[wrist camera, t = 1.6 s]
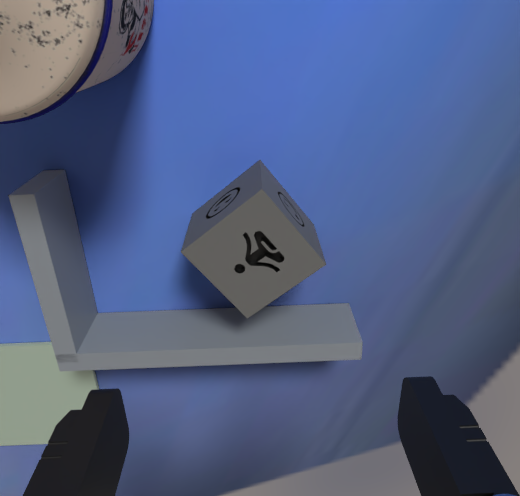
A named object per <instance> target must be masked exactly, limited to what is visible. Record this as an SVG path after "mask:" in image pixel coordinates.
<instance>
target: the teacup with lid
mask: <svg viewBox="0 0 520 496" xmlns="http://www.w3.org/2000/svg"><path fill="white" fill-rule="evenodd" d="M153 2H154V0H0V124H8V123H15V122H21V121H25V120H29V119H33V118H35V117H38V116H41V115H43V114H45V113H47V112H49V111H51V110H53V109H55V108H57V107H58V106H60V105H61V104H63V103H64V102H66V101H67V100H68V99H69V98H70V97H72V96H73V95H74V94H75V93H77V92H79V91H82V90H84V89H87V88H89V87H91V86H94V85H96V84H99V83H101V82H104V81H106V80H108V79H110V78H112V77H114V76H115V75H117V74H118V73H120V72H121V71H122V70H123V69H125V68H126V67H127V66H128V65H129V64H130V63H131V62H132V61H133V59H134V58H135V57H136V55H137V54H138V52H139V51H140V49H141V47H142V46H143V44H144V42H145V39H146V37H147V34H148V31H149V28H150V24H151V20H152V14H153Z"/></svg>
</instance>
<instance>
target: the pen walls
mask: <svg viewBox="0 0 520 496" xmlns="http://www.w3.org/2000/svg"><path fill="white" fill-rule="evenodd" d="M8 196H9V199H10V203H11V206H12V209H13V213H14V216H15V220H16V223H17V227H18V230H19V233H20V237H21V240H22V244H23V247H24V250H25V254H26V257H27V261H28V264H29V268H30V271H31V274H32V278H33V281H34V285H35V288H36V292H37V295H38V298H39V302H40V305H41V309H42V312H43V315H44V319H45V322H46V326H47V329H48V333H49V336H50V339H51V343H52V346H53V350H54V353H55V357H56V360H57V363H58V367H59V370H60V371H84V370H109V369H134V368H159V367H184V366H210V365H235V364H260V363H285V362H310V361H335V360H360V359H361V356H362V343H363V342H362V340H361V337H360V334H359V331H358V328H357V325H356V322H355V320H354V317H353V314H352V311H351V308H350V305H349V303H342V304H316V305H291V306H266V307H264V308H262V309H261V310H259V311H258V312H256V313H255V314H253V315H252V316H250V317H249V318H248V319H247V318H246V317H245V316H244V315H243V314H242V313H241V312H240V311H239V310H238V309H237V308H215V309H190V310H164V311H139V312H114V313H98V312H97V307H96V303H95V299H94V294H93V290H92V286H91V281H90V277H89V272H88V268H87V264H86V259H85V255H84V251H83V246H82V242H81V237H80V233H79V229H78V224H77V220H76V216H75V211H74V207H73V202H72V198H71V194H70V189H69V185H68V181H67V176H66V172H65V170H44V171H42V172H40V173H39V174H38V175H36V176H35V177H33V178H32V179H31V180H29V181H28V182H26V183H25V184H24V185H22V186H21V187H19V188H18V189H17V190H15V191H14V192H12V193H11V194H10V195H8Z"/></svg>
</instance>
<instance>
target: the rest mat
mask: <svg viewBox="0 0 520 496" xmlns="http://www.w3.org/2000/svg"><path fill="white" fill-rule="evenodd" d="M96 389H99V386H98V382H97V378H96V374H95V370H84V371H60V370H59V367H58V363H57V360H56V357H55V353H54V350H53V346H52V343H51V342H35V343H9V344H0V446H7V445H32V444H48V441H49V439H50V437H51V435H52V433H53V431H54V429H55V426H56V425H57V424H58V423H59V422H60V421H61V420H62V418H63V417H64V416H65V415H66V414H67V413H68V412H69V411H70V410H81V409H82V407H83V405H84V403H85V400H86V398H87V396H88V394H89V392H90V391H91V390H96Z"/></svg>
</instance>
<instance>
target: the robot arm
mask: <svg viewBox="0 0 520 496" xmlns="http://www.w3.org/2000/svg"><path fill="white" fill-rule="evenodd" d="M398 430H399V435H400V439H401V442H402V445H403V447H404V450H405V453H406V455H407V458H408V461H409V464H410V466H411V469H412V471H413V474H414V477H415V480H416V483H417V485H418V488H419V490H420V493H421V496H519V494H518V492H517V491H516V489H515V487H514V486H513V484H512V482H511V480H510V479H509V477H508V475H507V473H506V472H505V470H504V468H503V466H502V465H501V463H500V461H499V460H498V458H497V456H496V455H495V453H494V451H493V449H492V447H491V446H490V444H489V442H487V441H486V437H485V435H484V433H483V432H482V430H481V428H479V426H478V423H477V422H476V420H475V418H474V416H473V415H472V413H471V411H470V409H469V408H468V407H467V406H466V405H465V404H463V403H462V402H461V401H460V400H459V399H458V398H457V397H456V396H454V395H443V394H442V393H441V391H440V389H439V387H438V385H437V383H436V381H435V380H434V378H433V377H431V376H430V377H406V378H404V379H403V383H402V390H401V397H400V404H399V411H398ZM128 444H129V428H128V423H127V418H126V413H125V409H124V404H123V400H122V395H121V392H120V390H119V389H96V390H91V391H90V392H89V394H88V396H87V398H86V400H85V403H84V405H83V407H82V409H81V410H70V411H69V412H68V413H67V414H66V415H65V416H64V417H63V418H62V420H61V421H60V422H59V423H58V424H57V425H56V426H55V429H54V431H53V433H52V435H51V437H50V439H49V441H48V446H46V448H45V450H44V452H43V454H42V456H41V457H42V458H41V460H39V462H38V464H37V467H36V469H35V471H34V473H33V475H32V477H31V479H30V481H29V484H28V486H27V488H26V490H25V492H24V494H23V496H115V493H116V489H117V486H118V482H119V479H120V475H121V471H122V468H123V464H124V461H125V457H126V454H127V450H128Z"/></svg>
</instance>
